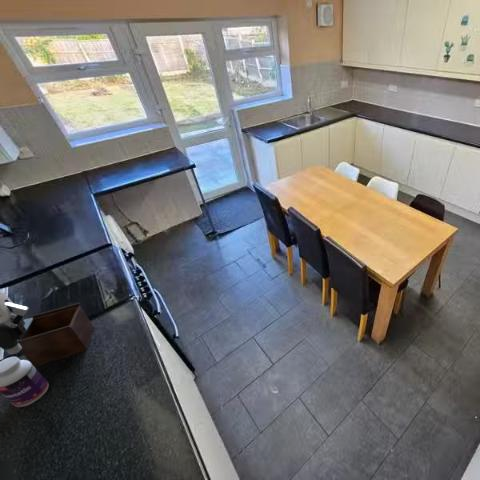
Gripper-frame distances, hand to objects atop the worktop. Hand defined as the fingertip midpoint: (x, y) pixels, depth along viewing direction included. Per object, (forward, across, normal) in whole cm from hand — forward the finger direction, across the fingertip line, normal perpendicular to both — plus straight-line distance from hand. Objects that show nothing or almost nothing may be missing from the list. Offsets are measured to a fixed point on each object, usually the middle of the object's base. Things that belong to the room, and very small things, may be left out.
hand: (6, 339), depth 69 cm
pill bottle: (+25, -7, +4) cm, 26 cm away
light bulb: (+5, 0, 0) cm, 5 cm away
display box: (+25, -3, +22) cm, 33 cm away
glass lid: (+13, -16, +21) cm, 30 cm away
